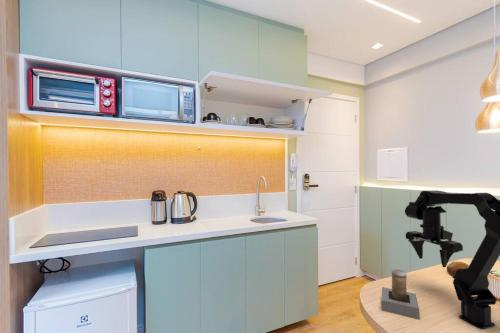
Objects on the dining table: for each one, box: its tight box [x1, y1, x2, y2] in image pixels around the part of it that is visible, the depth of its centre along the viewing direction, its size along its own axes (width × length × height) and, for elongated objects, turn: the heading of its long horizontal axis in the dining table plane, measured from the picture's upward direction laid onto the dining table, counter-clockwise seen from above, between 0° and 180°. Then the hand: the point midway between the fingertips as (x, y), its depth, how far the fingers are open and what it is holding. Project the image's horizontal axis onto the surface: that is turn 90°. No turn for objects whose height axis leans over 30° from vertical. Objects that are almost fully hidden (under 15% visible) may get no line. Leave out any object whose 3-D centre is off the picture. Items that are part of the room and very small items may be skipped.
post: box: [391, 269, 408, 303], centre depth 89 cm, size 5×5×12 cm
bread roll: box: [446, 261, 470, 277], centre depth 114 cm, size 10×10×8 cm
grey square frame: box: [381, 286, 420, 320], centre depth 89 cm, size 11×11×4 cm
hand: (432, 262), depth 96 cm, fingers open, 9 cm apart
